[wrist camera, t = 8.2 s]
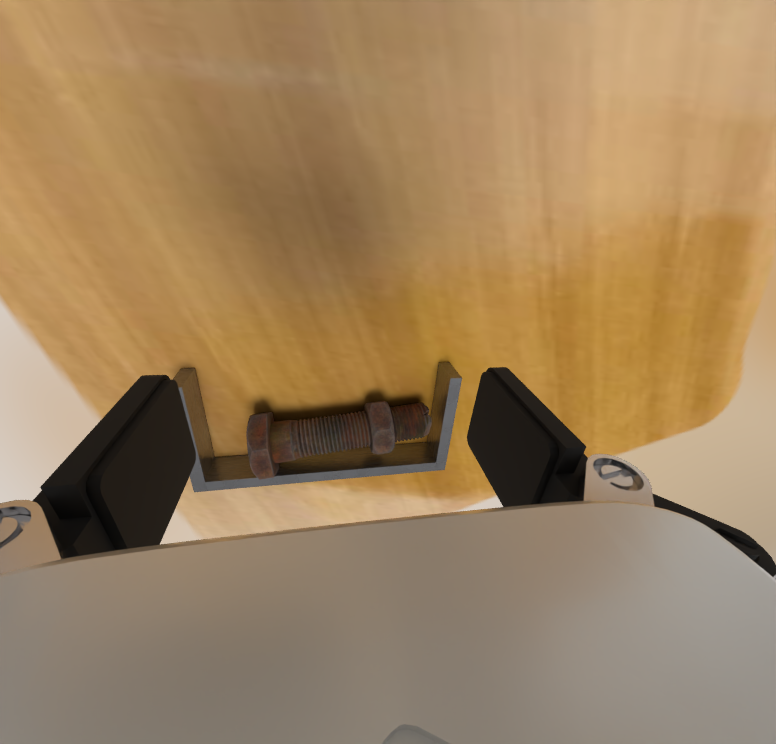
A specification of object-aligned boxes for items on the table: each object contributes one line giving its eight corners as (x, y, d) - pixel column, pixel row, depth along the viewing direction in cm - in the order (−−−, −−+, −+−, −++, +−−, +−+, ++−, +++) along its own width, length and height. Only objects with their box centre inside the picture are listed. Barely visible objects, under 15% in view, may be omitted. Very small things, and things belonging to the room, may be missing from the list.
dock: (180, 368, 26) (165, 387, 23) (449, 362, 30) (461, 378, 28) (204, 466, 31) (194, 492, 28) (435, 449, 35) (444, 469, 32)
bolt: (415, 403, 34) (260, 425, 31) (424, 377, 30) (246, 400, 27) (430, 458, 31) (261, 488, 28) (442, 438, 27) (245, 471, 24)
